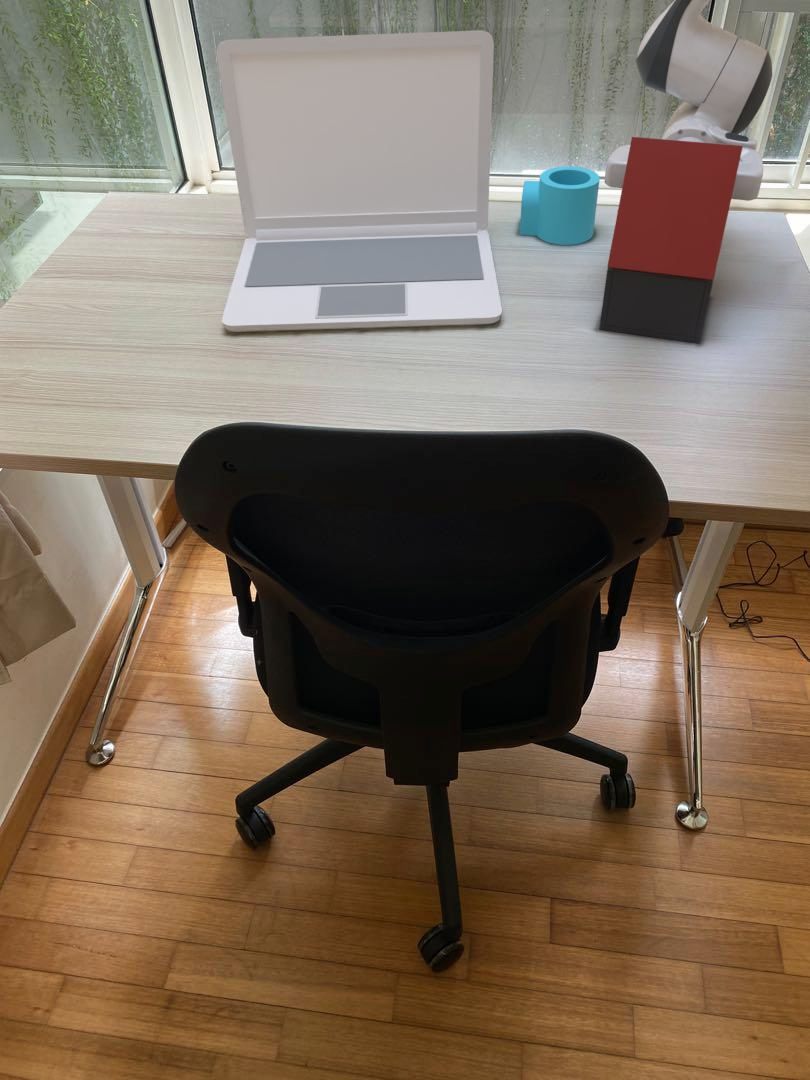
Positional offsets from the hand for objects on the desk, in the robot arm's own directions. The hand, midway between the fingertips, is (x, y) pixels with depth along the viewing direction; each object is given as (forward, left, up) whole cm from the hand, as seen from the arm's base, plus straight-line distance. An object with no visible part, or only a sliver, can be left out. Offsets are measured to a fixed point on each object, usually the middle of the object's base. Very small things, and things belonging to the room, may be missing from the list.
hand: (676, 194), depth 113 cm
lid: (0, +1, -1) cm, 2 cm away
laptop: (+43, -9, -17) cm, 47 cm away
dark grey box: (0, -1, -17) cm, 17 cm away
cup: (+13, -28, -18) cm, 35 cm away
